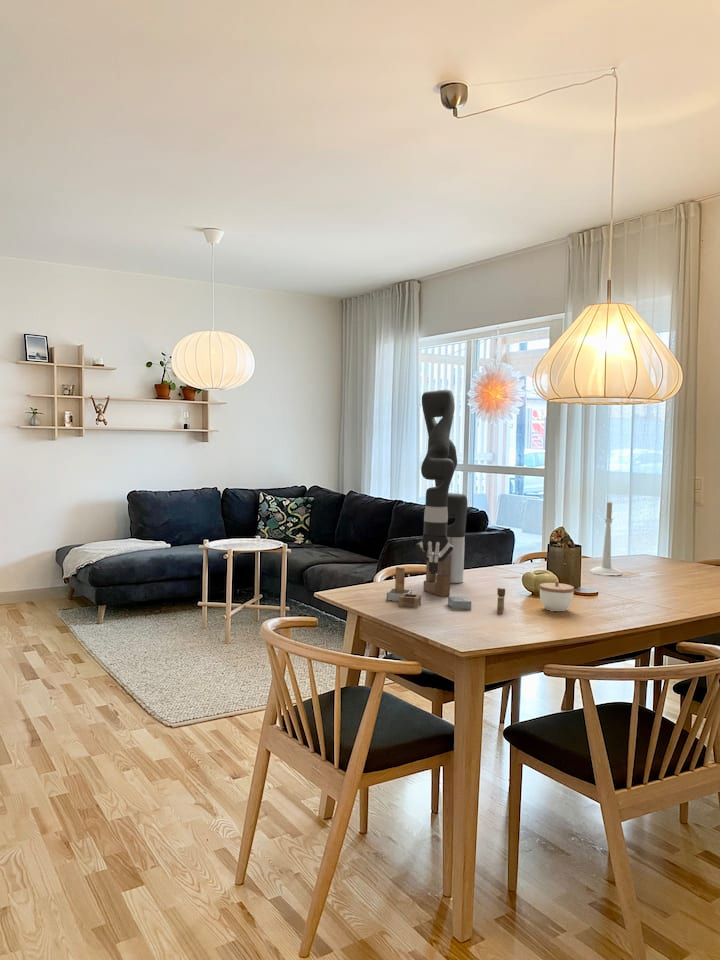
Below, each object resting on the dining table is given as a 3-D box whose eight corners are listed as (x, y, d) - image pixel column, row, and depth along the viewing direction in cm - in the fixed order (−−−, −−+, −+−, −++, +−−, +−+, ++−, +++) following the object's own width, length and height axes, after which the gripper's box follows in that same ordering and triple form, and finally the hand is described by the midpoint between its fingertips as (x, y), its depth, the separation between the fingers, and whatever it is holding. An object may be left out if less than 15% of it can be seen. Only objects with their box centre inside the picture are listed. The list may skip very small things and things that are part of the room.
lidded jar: (568, 606, 245) (569, 578, 245) (576, 614, 234) (578, 584, 234) (535, 605, 245) (536, 577, 245) (542, 613, 235) (543, 583, 234)
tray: (391, 595, 253) (391, 588, 253) (411, 597, 252) (411, 589, 252) (386, 600, 246) (386, 592, 245) (407, 602, 244) (407, 594, 244)
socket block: (402, 602, 244) (402, 593, 244) (420, 603, 242) (421, 594, 242) (399, 606, 238) (399, 596, 238) (417, 607, 237) (418, 598, 236)
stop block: (497, 607, 241) (498, 585, 240) (505, 607, 240) (506, 586, 240) (495, 613, 232) (496, 591, 232) (503, 614, 232) (504, 591, 231)
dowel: (395, 596, 251) (396, 566, 250) (404, 596, 250) (405, 567, 249) (394, 597, 248) (395, 567, 247) (402, 598, 247) (403, 568, 246)
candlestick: (626, 576, 303) (630, 503, 301) (594, 575, 303) (598, 502, 302) (616, 571, 316) (620, 500, 314) (586, 569, 316) (589, 499, 314)
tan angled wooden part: (441, 597, 254) (443, 544, 253) (422, 590, 263) (424, 540, 262) (450, 596, 256) (452, 543, 254) (431, 590, 265) (433, 539, 264)
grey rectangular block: (447, 605, 243) (448, 596, 242) (465, 605, 243) (466, 596, 243) (452, 610, 236) (452, 601, 235) (471, 610, 236) (471, 601, 236)
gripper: (413, 520, 238) (411, 574, 239) (454, 522, 235) (452, 577, 235) (417, 517, 245) (415, 570, 246) (457, 520, 242) (455, 573, 243)
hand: (433, 573), depth 241 cm, fingers closed
